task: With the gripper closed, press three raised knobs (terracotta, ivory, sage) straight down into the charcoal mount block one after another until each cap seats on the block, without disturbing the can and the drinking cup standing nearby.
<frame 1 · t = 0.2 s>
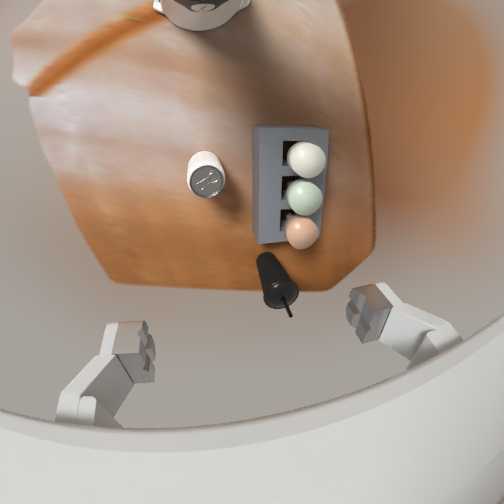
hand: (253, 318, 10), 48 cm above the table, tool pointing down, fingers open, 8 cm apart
knob 1: (296, 225, 54), point 9 cm above the table, slide at 0.0 cm
drinking cup: (265, 260, 67), on the table
mount: (284, 179, 57), on the table
can: (204, 165, 53), on the table
knob 2: (300, 156, 46), point 9 cm above the table, slide at 0.0 cm
knob mid: (298, 192, 50), point 9 cm above the table, slide at 0.0 cm
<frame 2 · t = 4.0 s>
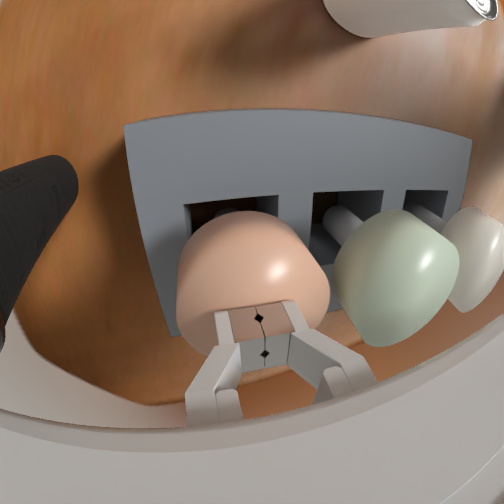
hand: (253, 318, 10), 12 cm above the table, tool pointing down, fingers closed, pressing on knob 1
knob 1: (238, 257, 14), point 8 cm above the table, slide at 1.1 cm, touching gripper
drinking cup: (54, 184, 16), on the table
mount: (310, 196, 21), on the table
can: (354, 6, 13), on the table
knob 2: (446, 238, 15), point 9 cm above the table, slide at 0.0 cm
knob mid: (369, 251, 14), point 9 cm above the table, slide at 0.0 cm
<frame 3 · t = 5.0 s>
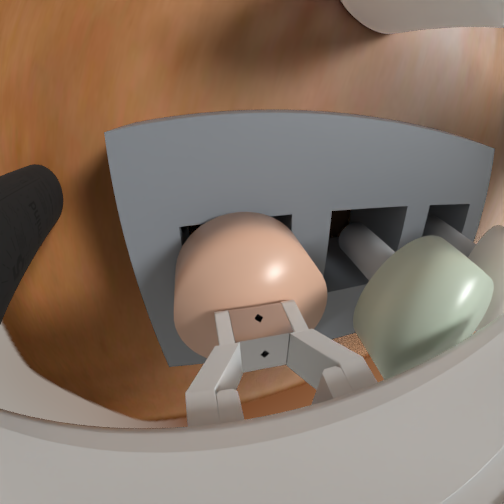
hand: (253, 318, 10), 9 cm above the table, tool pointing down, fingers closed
knob 1: (236, 258, 14), point 5 cm above the table, slide at 3.7 cm
drinking cup: (38, 197, 14), on the table
mount: (322, 208, 19), on the table
knob 2: (469, 258, 13), point 9 cm above the table, slide at 0.0 cm
knob mid: (394, 278, 12), point 9 cm above the table, slide at 0.0 cm
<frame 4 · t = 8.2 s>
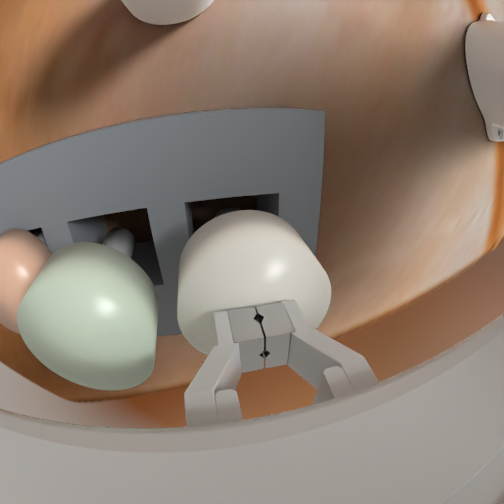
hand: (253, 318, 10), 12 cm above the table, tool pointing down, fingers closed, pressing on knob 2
knob 1: (33, 259, 14), point 5 cm above the table, slide at 3.7 cm
mount: (133, 213, 19), on the table
knob 2: (239, 256, 14), point 8 cm above the table, slide at 1.0 cm, touching gripper
knob mid: (103, 283, 12), point 9 cm above the table, slide at 0.0 cm
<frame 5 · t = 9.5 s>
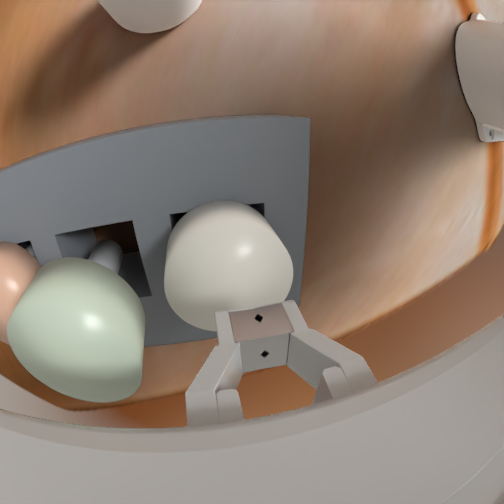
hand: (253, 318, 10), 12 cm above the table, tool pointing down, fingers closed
knob 1: (23, 271, 13), point 5 cm above the table, slide at 3.7 cm
mount: (121, 224, 19), on the table
knob 2: (219, 242, 16), point 5 cm above the table, slide at 3.7 cm
knob mid: (91, 296, 11), point 9 cm above the table, slide at 0.0 cm
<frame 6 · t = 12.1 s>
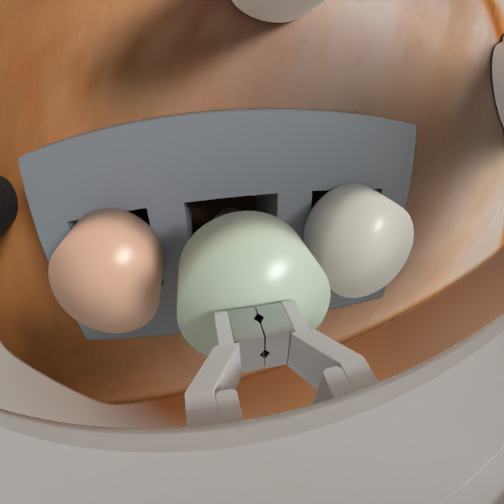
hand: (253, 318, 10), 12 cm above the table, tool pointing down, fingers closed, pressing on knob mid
knob 1: (118, 246, 15), point 5 cm above the table, slide at 3.7 cm
drinking cup: (1, 201, 15), on the table
mount: (223, 202, 20), on the table
knob 2: (338, 220, 17), point 5 cm above the table, slide at 3.7 cm
knob mid: (239, 257, 14), point 8 cm above the table, slide at 0.9 cm, touching gripper
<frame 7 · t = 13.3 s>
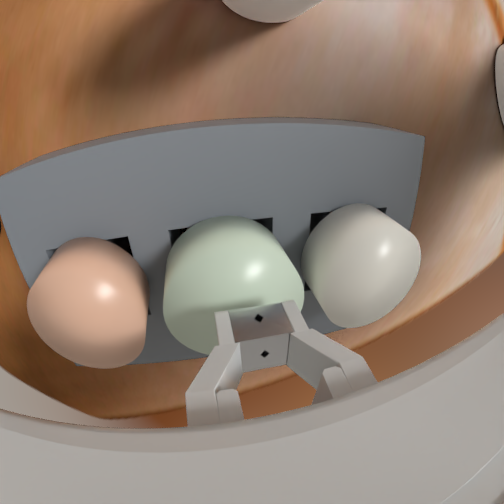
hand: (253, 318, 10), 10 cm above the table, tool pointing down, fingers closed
knob 1: (101, 274, 13), point 5 cm above the table, slide at 3.7 cm
mount: (213, 220, 19), on the table
knob 2: (339, 242, 16), point 5 cm above the table, slide at 3.7 cm
knob mid: (222, 258, 15), point 5 cm above the table, slide at 3.7 cm
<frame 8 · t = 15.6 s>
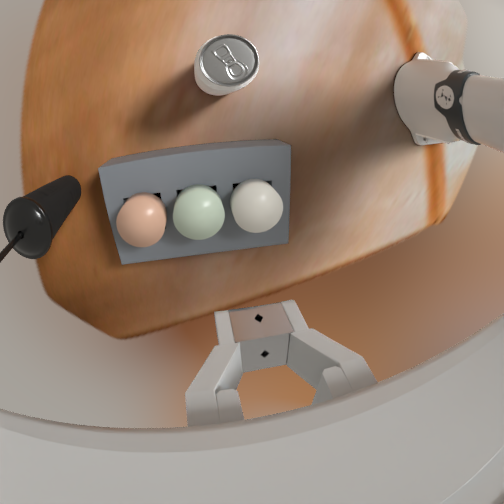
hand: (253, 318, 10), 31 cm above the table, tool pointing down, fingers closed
knob 1: (145, 211, 33), point 5 cm above the table, slide at 3.7 cm
drinking cup: (68, 190, 34), on the table
mount: (197, 191, 38), on the table
can: (218, 74, 30), on the table
knob 2: (251, 198, 35), point 5 cm above the table, slide at 3.7 cm
knob mid: (198, 203, 34), point 5 cm above the table, slide at 3.7 cm
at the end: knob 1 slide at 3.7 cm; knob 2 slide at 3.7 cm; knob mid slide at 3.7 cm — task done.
